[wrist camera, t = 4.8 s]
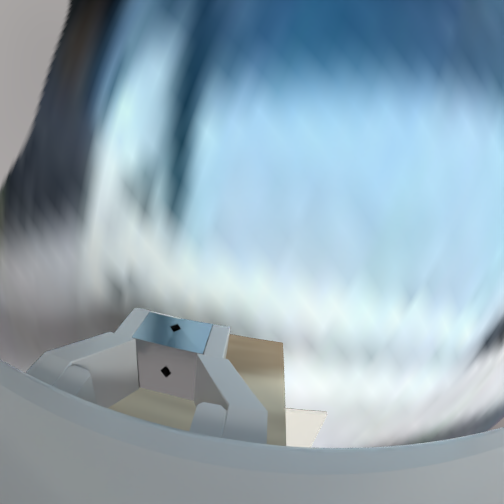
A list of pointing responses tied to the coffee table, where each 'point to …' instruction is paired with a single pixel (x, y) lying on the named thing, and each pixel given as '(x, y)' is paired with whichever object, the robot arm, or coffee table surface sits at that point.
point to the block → (252, 372)
